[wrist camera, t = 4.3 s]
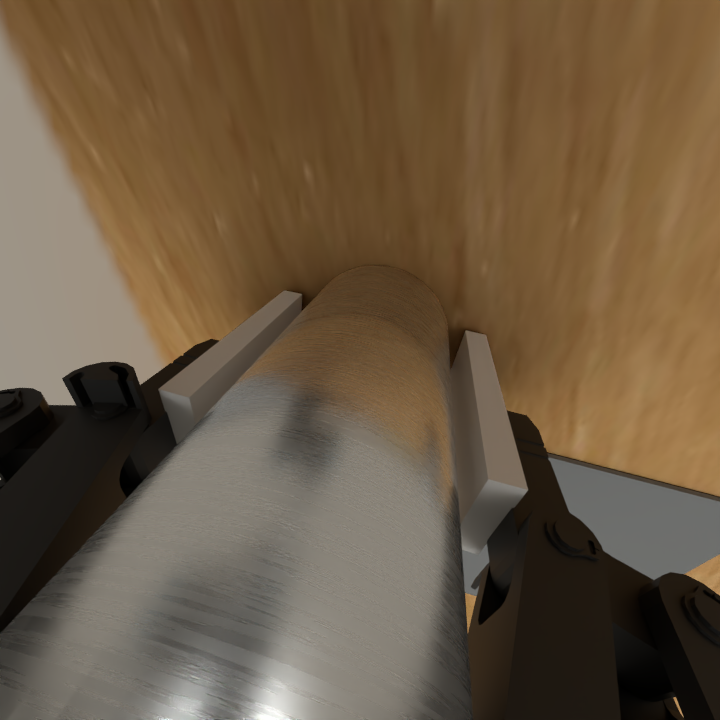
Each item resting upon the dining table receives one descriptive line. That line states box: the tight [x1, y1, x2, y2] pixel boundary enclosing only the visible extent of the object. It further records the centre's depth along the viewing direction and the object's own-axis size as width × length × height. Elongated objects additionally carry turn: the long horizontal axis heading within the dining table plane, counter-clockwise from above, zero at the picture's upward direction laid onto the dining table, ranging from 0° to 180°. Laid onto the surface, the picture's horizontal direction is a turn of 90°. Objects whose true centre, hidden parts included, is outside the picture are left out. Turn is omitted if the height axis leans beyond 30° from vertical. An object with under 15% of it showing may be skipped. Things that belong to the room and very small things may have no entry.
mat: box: [462, 453, 720, 596], centre depth 18 cm, size 15×15×1 cm
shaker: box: [0, 265, 473, 720], centre depth 7 cm, size 6×6×12 cm
